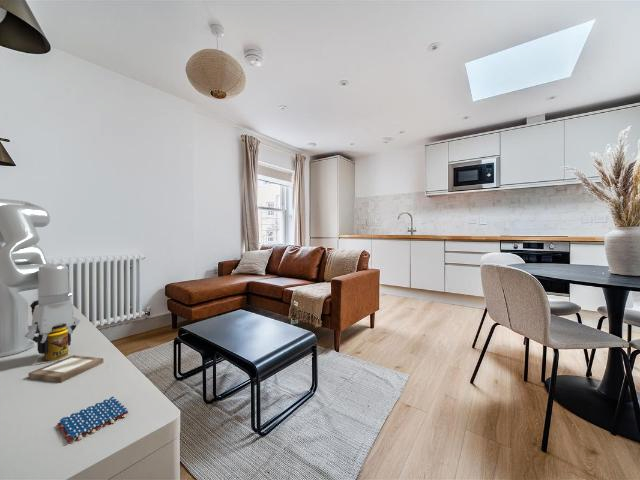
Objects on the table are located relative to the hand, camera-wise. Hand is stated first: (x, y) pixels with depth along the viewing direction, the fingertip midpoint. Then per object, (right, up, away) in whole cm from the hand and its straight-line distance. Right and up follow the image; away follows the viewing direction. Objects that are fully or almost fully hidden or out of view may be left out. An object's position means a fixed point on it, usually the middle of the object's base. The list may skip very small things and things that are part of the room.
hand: (55, 348), depth 91 cm
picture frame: (+13, -3, -9) cm, 16 cm away
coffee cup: (-40, -3, +32) cm, 51 cm away
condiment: (0, -3, 0) cm, 4 cm away
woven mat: (+42, -4, -32) cm, 53 cm away
